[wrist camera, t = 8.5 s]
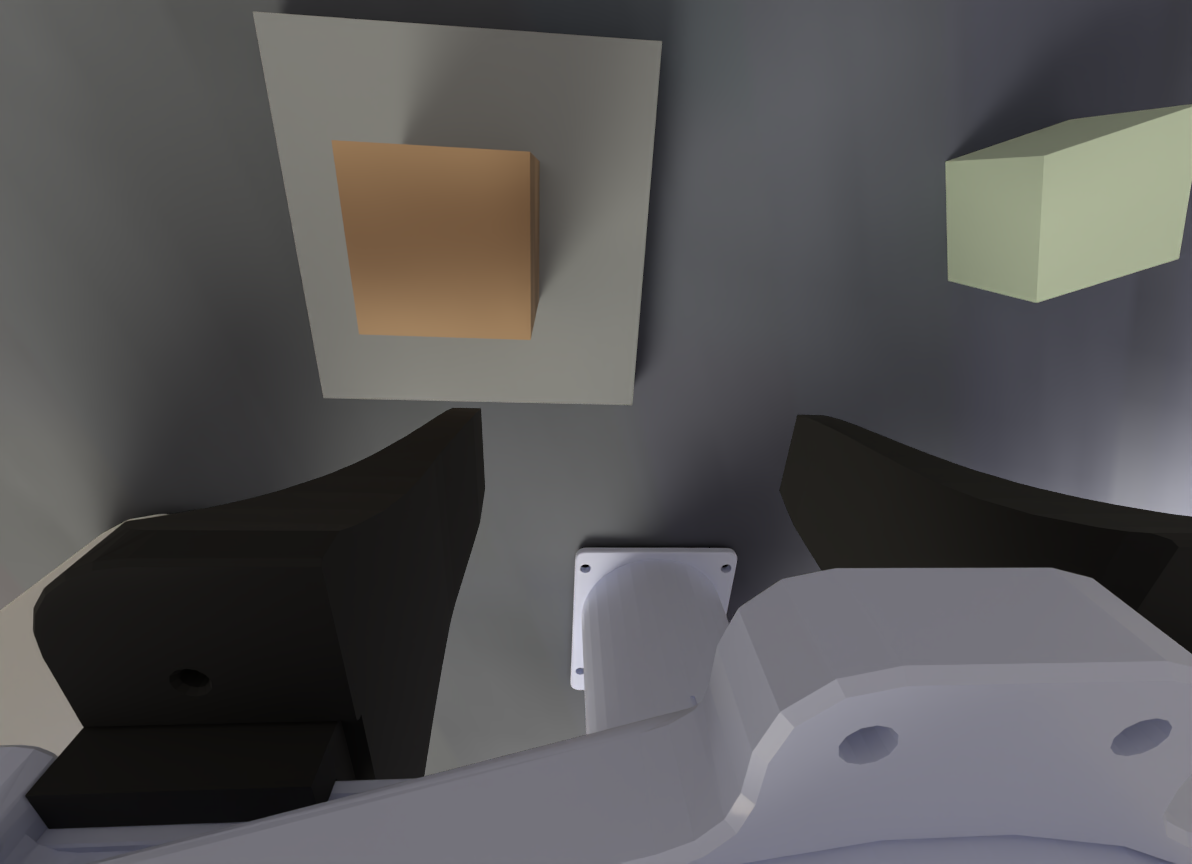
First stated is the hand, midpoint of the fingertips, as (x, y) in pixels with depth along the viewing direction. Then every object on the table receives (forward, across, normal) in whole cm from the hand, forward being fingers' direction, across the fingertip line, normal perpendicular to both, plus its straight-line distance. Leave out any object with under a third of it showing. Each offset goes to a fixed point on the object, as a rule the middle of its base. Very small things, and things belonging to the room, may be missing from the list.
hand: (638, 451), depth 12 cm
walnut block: (+9, +5, -4) cm, 11 cm away
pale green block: (+11, -15, -5) cm, 19 cm away
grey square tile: (+10, +5, -3) cm, 12 cm away
